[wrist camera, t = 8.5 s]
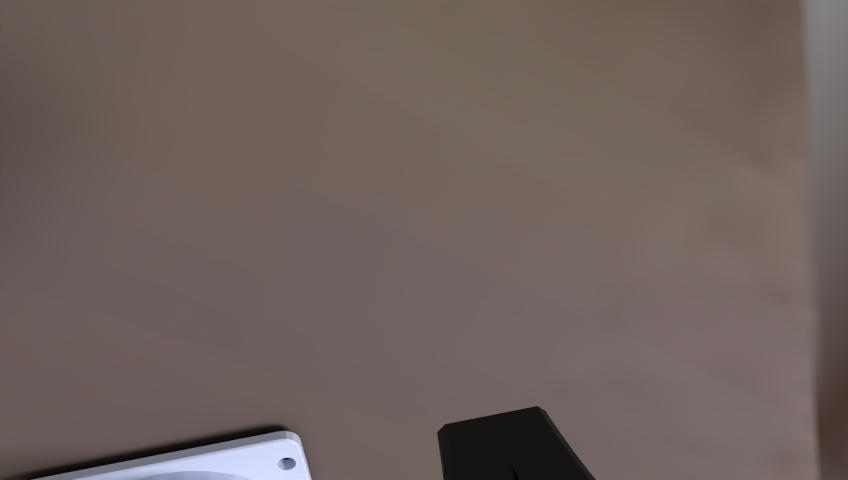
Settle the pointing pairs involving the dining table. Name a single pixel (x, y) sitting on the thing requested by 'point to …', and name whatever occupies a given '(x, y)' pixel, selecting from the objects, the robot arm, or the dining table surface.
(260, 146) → the dining table surface
